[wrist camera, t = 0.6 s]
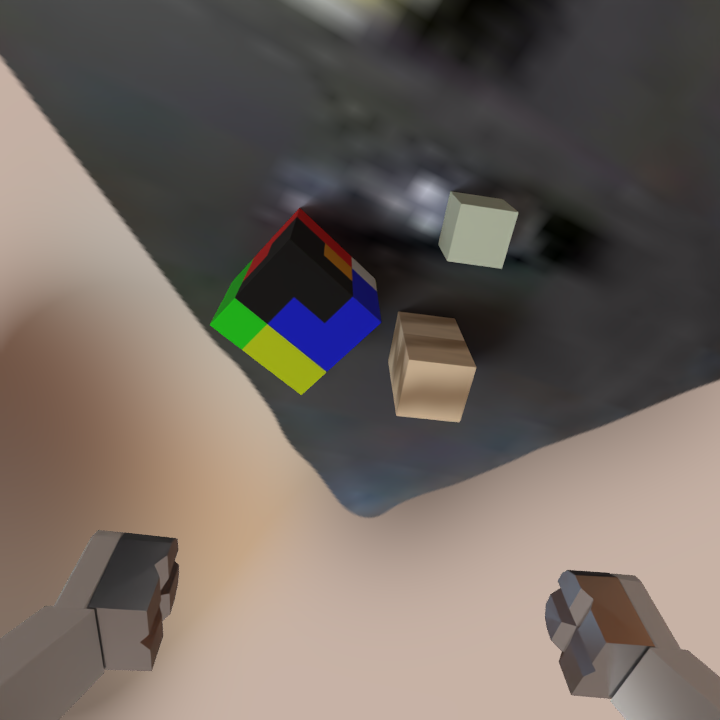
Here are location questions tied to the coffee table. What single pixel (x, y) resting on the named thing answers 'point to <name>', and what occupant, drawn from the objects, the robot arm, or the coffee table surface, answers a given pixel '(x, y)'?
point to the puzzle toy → (299, 304)
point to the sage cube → (477, 230)
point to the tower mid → (432, 378)
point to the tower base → (420, 332)
